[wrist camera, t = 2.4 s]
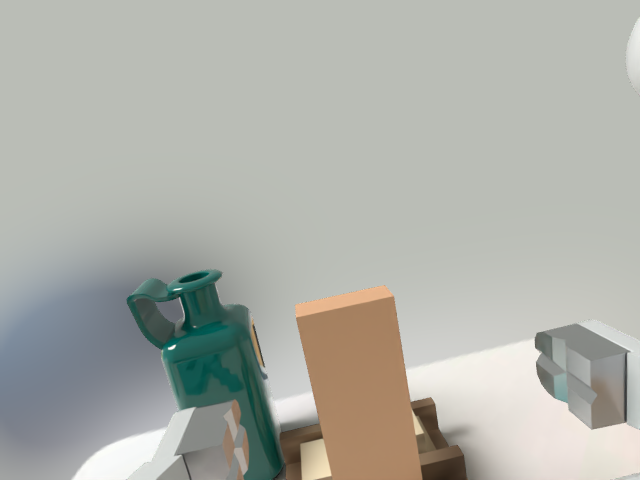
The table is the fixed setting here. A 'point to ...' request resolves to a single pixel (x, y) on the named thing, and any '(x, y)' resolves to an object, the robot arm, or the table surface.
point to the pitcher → (213, 359)
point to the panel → (360, 385)
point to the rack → (436, 466)
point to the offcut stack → (317, 460)
